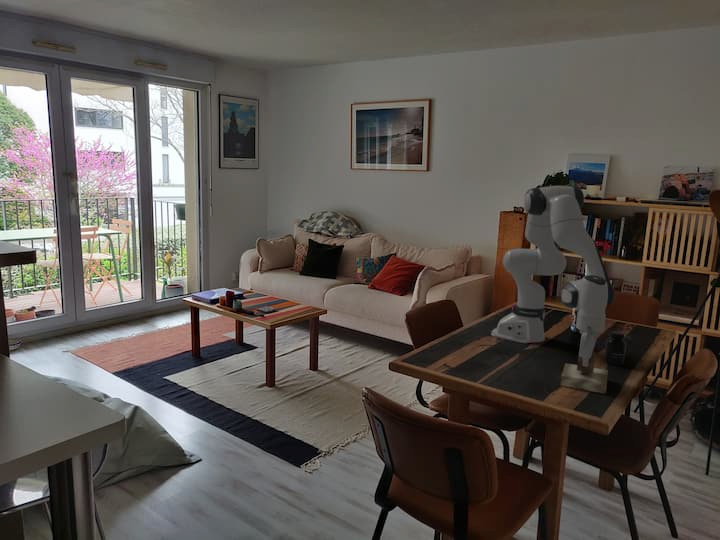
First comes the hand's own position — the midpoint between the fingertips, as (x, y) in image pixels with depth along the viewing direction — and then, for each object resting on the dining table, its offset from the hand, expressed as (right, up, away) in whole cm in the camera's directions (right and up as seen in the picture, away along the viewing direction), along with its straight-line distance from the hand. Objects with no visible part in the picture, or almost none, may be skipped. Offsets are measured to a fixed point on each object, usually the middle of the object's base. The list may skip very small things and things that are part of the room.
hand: (586, 363), depth 187 cm
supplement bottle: (+20, -4, +22) cm, 30 cm away
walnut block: (0, -2, 0) cm, 2 cm away
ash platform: (0, -7, +1) cm, 8 cm away
